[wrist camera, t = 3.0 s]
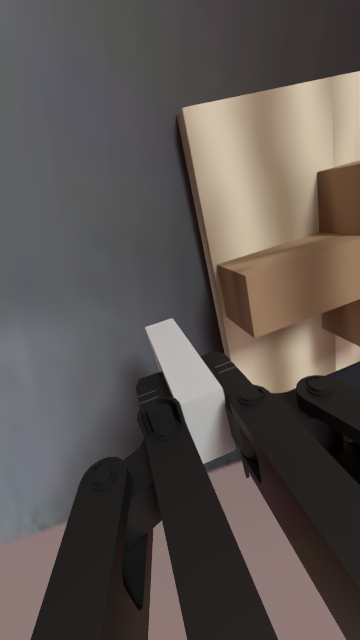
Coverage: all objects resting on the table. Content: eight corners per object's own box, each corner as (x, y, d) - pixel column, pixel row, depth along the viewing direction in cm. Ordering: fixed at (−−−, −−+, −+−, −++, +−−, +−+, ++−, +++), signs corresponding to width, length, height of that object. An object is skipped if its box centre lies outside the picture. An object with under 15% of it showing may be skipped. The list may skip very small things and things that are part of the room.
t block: (234, 361, 22) (262, 390, 19) (205, 202, 17) (234, 198, 14) (361, 313, 24) (408, 330, 21) (366, 158, 20) (427, 145, 16)
